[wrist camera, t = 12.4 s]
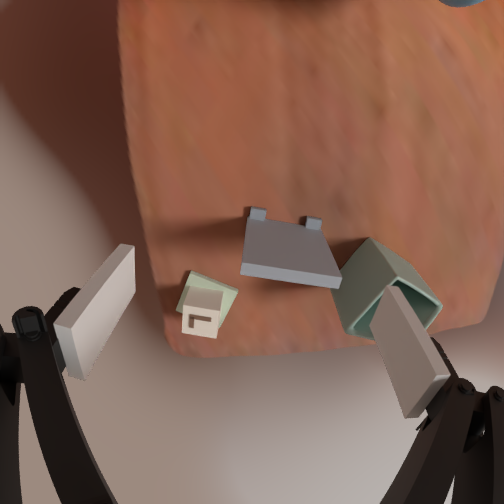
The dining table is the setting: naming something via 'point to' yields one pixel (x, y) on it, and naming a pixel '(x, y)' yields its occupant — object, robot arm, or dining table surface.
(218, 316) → the letter cube
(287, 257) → the board
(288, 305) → the dining table surface
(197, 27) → the dining table surface
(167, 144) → the dining table surface
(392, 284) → the planter
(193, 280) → the pad
